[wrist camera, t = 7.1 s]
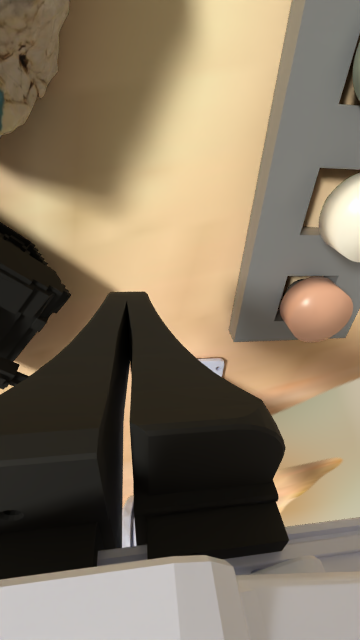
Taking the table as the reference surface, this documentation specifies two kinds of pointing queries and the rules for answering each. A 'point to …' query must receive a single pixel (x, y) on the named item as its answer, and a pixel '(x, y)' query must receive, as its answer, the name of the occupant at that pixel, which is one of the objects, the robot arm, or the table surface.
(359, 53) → the button sage
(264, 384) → the table surface
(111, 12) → the table surface
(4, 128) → the rock
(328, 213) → the button cream
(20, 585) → the robot arm
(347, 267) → the panel
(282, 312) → the button terracotta
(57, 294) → the toy
